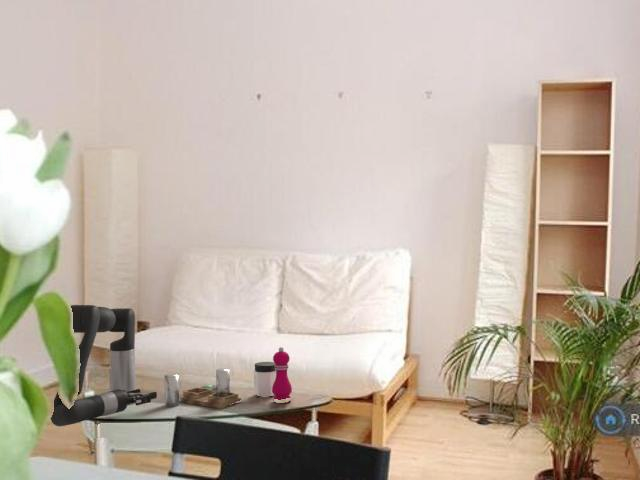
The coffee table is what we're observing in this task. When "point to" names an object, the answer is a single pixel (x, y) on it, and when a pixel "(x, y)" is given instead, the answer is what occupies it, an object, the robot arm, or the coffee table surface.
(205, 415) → the coffee table surface
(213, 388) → the grey square box
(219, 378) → the seated billet
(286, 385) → the pepper mill
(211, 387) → the button
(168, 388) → the cylinder
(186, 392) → the wooden tray
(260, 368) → the jar
